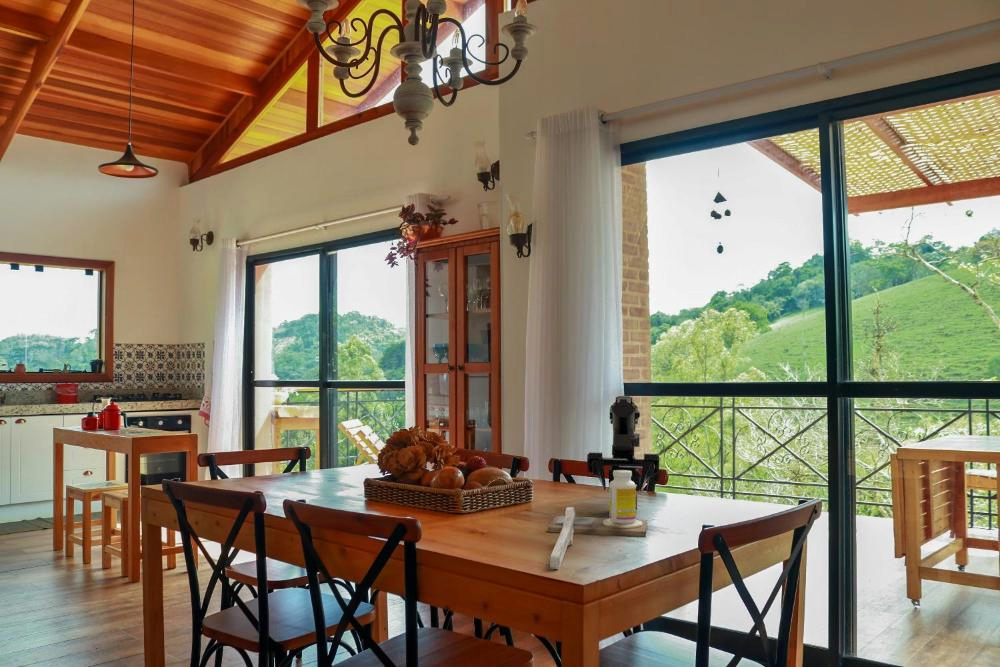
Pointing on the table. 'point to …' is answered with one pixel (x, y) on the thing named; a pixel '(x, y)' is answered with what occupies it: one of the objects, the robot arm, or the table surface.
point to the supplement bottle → (622, 498)
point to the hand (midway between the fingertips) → (622, 489)
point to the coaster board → (600, 526)
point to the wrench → (563, 539)
